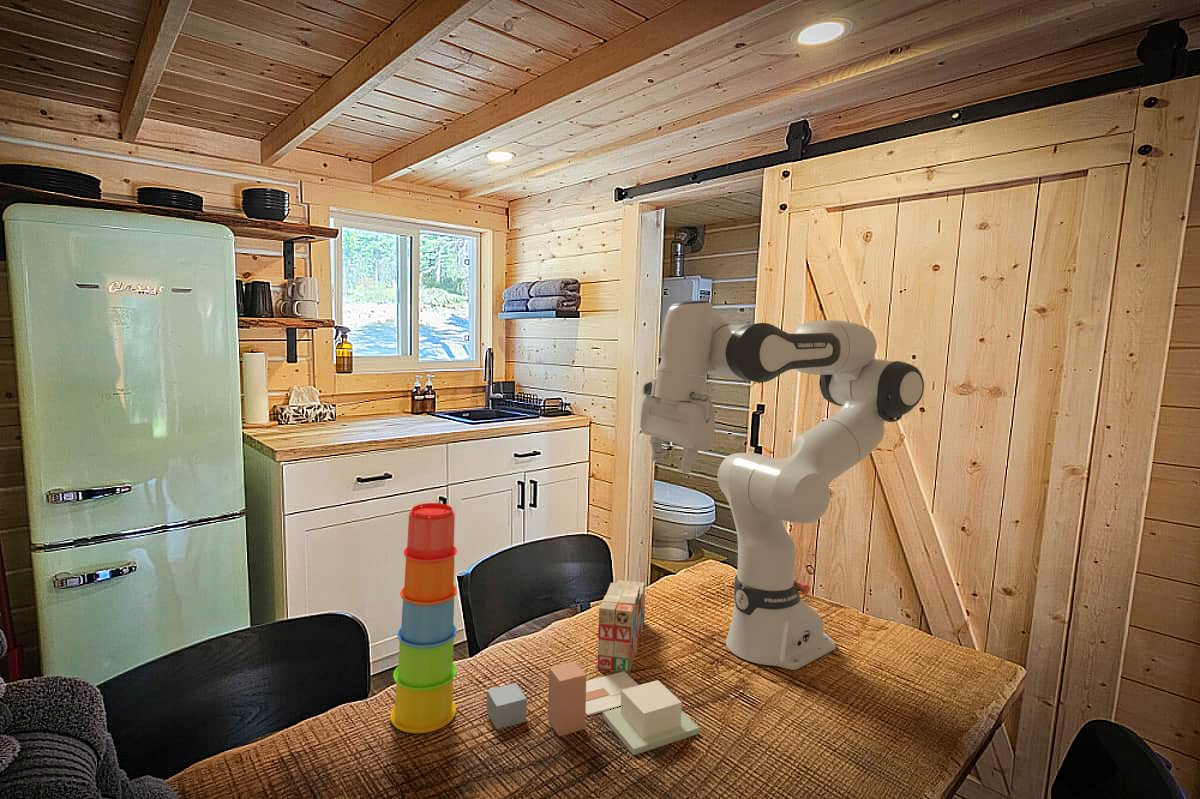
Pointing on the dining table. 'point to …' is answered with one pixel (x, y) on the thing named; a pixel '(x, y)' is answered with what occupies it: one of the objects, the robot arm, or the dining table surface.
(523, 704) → the slate brick
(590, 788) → the dining table surface
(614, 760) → the dining table surface
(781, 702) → the dining table surface
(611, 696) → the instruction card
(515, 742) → the dining table surface
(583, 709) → the terracotta brick
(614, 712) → the tower base
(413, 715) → the stacking cups
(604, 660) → the stack of blocks
